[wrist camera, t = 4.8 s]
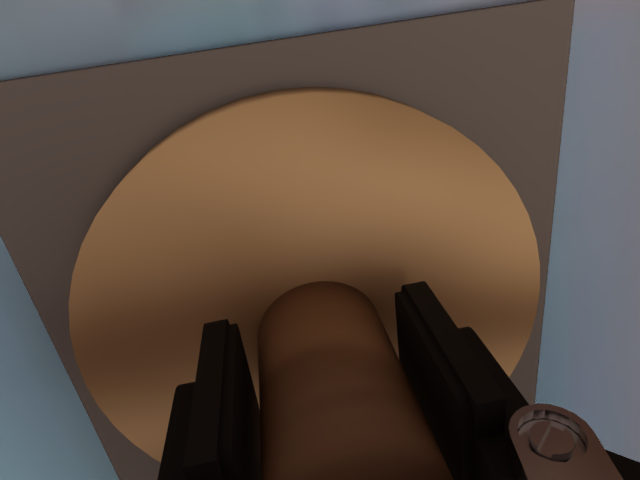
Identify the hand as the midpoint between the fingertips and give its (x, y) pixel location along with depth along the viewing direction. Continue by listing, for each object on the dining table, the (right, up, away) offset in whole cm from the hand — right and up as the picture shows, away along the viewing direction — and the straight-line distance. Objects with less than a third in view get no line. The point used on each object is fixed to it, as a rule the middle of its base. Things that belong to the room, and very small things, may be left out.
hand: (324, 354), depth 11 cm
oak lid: (0, +1, +2) cm, 2 cm away
